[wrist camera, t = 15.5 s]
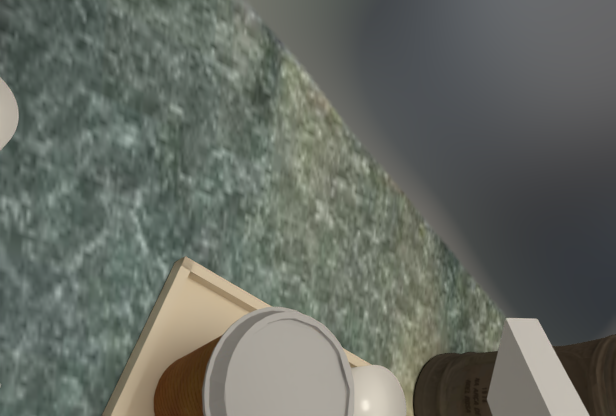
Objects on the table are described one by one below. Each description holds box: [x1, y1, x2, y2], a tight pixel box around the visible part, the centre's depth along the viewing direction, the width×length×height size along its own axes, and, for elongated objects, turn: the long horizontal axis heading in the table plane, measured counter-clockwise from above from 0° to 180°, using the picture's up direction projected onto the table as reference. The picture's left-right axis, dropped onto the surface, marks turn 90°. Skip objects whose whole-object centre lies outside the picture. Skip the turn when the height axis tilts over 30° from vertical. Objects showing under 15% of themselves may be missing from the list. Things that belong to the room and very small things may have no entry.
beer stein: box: [414, 334, 616, 416], centre depth 48 cm, size 15×11×20 cm
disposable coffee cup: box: [154, 307, 354, 416], centre depth 34 cm, size 10×10×12 cm
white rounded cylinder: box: [351, 365, 406, 416], centre depth 44 cm, size 6×6×5 cm
